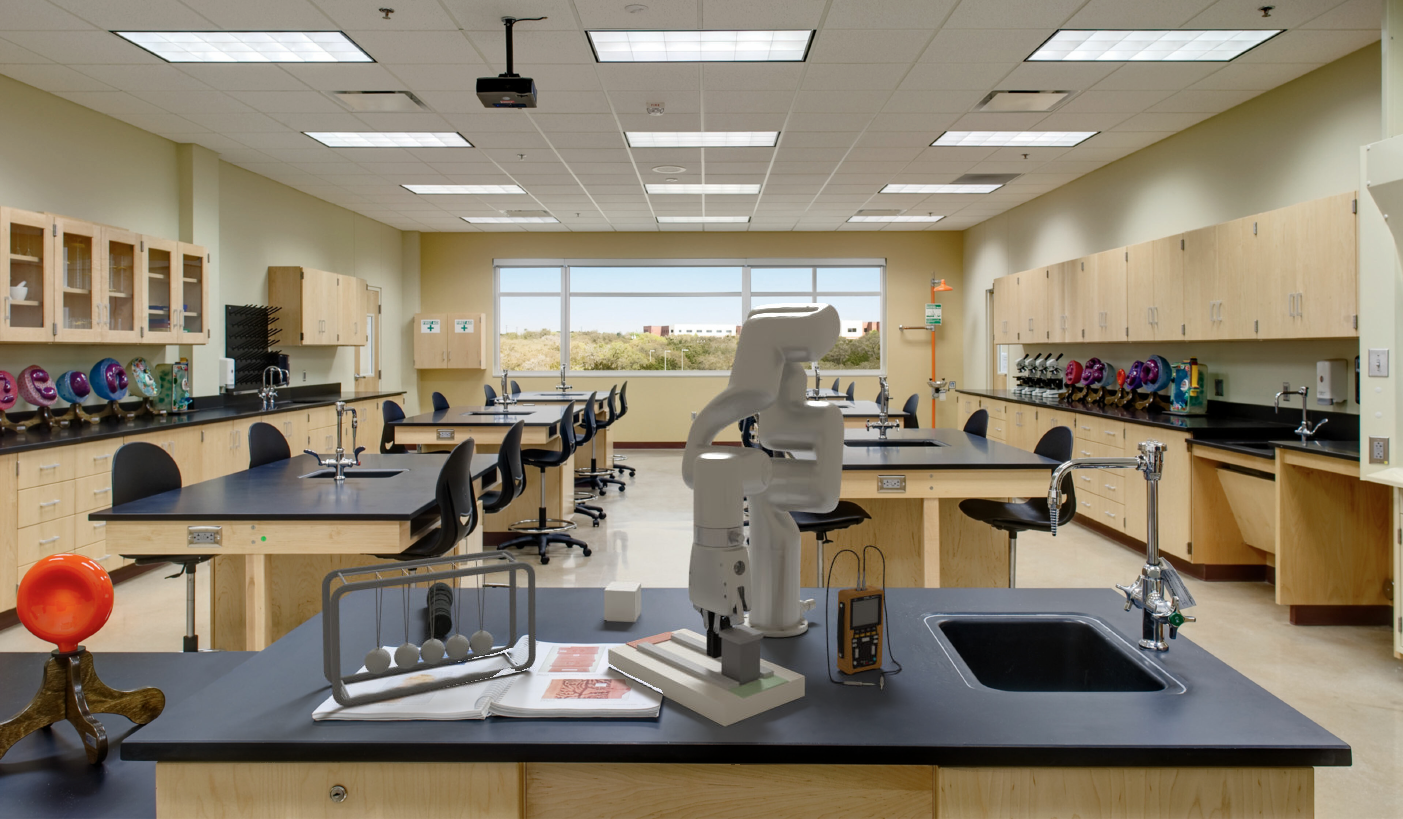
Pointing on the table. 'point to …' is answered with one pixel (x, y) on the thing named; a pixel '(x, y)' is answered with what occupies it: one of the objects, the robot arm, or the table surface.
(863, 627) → the multimeter
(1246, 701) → the table surface
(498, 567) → the newton's cradle
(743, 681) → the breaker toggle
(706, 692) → the slider rail board
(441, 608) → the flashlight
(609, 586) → the white cube
